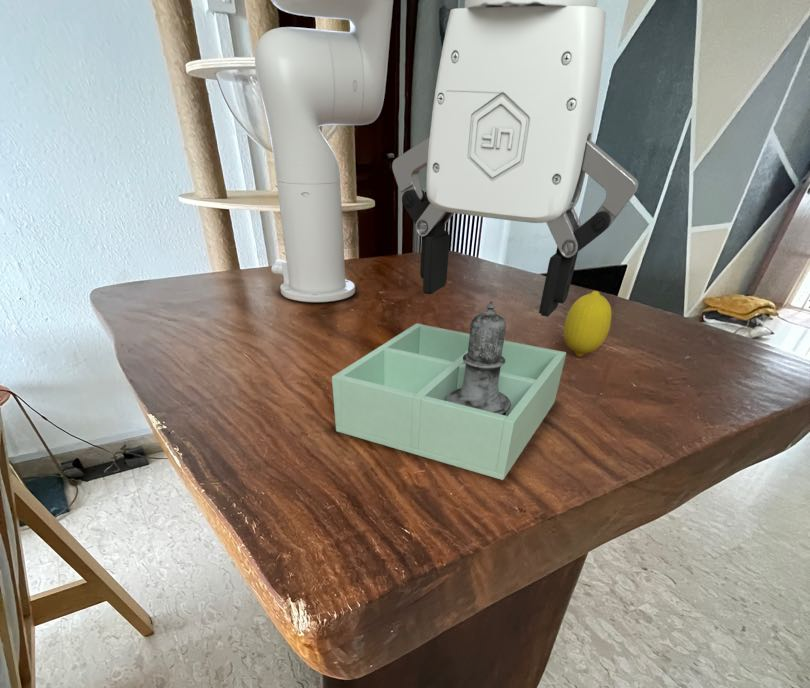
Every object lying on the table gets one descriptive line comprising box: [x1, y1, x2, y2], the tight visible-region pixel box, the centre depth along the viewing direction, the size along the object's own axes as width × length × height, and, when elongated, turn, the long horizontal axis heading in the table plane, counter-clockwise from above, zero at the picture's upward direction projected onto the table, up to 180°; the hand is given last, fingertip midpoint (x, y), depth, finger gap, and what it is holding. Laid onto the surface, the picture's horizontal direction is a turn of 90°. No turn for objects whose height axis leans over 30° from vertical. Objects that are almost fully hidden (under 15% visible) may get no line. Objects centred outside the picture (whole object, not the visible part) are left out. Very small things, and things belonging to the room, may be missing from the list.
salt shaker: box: [446, 301, 511, 415], centre depth 43 cm, size 6×6×12 cm
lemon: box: [563, 290, 612, 358], centre depth 62 cm, size 6×6×8 cm
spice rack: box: [331, 322, 567, 481], centre depth 50 cm, size 17×17×6 cm
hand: (489, 300), depth 39 cm, fingers open, 9 cm apart
